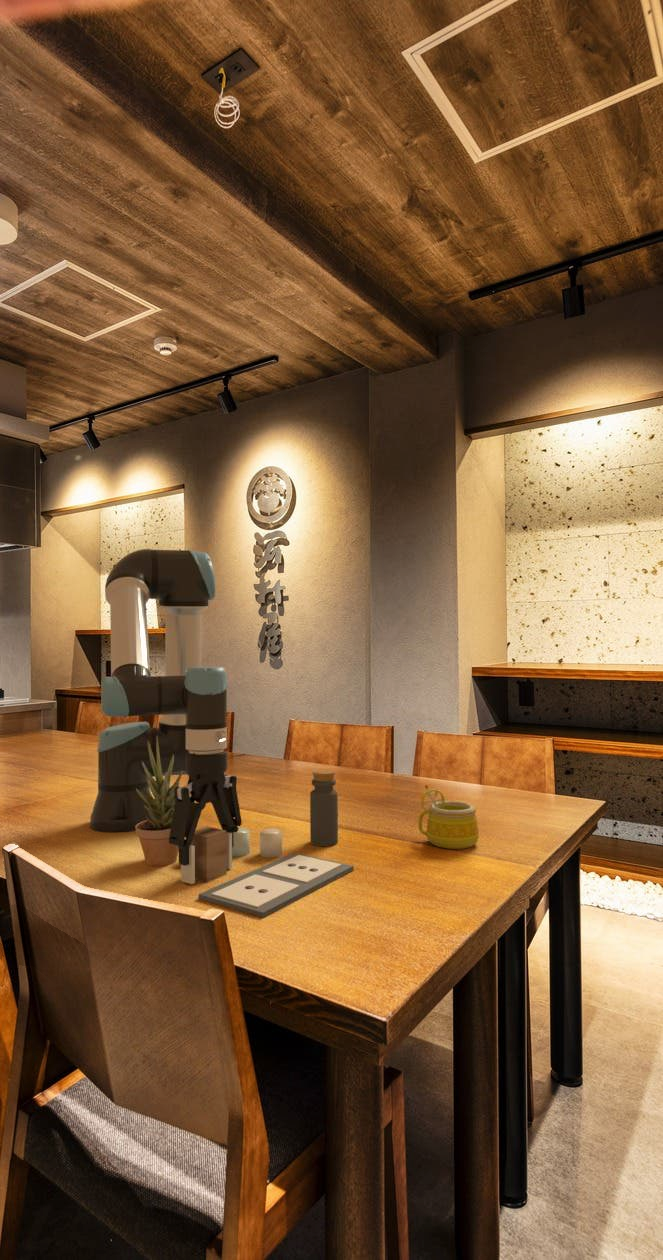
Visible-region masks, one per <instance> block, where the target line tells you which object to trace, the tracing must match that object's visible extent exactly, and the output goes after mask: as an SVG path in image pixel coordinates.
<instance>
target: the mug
mask: <svg viewBox="0 0 663 1260" xmlns="http://www.w3.org/2000/svg"><path fill="white" fill-rule="evenodd" d="M424 788H425V789H426V790H427V791H425V792H424V793H423V795H422V797H421V800H420V804H421V807H422V809H423V811H422V812H421V813H420V814H419V817H418V821H417V822H418V823H417V824H418V830H419V832H420V833H421V834H422V835H424V836H426V837H427V840H428V842H430V843H431V844H432V845H433V846H436V847H439V848H443V849H448V850H449V849H450V850H459V849H460V850H463V849H467V848H471V847H473V846H475V845H476V844H477V843H478V840H479V837H480V835H479V825H478V824H479V823H478V818H477V815H476V811H477V809H476V808H475V806H474V805H473V804H471V803H468V802H465V801H457V800H445V796H444V794H443V793H442V791H440V790H438V789H435V788H433V789H429V785H428V784H425V785H424ZM431 792H434V796H433V795H432V793H431ZM439 794H440V796H441V798H440V799H436V798H437V796H438V795H439ZM426 796H427V797H429V799H430V801H424V799H425V797H426ZM435 799H436V800H435ZM425 804H430V805H429V807H428V808H427V809H426V808H425ZM427 814H428V817H427V825H426V830H424V828H423V819H424V816H425V815H427Z"/></svg>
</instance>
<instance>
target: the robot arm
mask: <svg viewBox="0 0 663 1260" xmlns="http://www.w3.org/2000/svg"><path fill="white" fill-rule="evenodd" d="M215 579H216V578H215V573H214V567H213V563H212V560H211V557H210V556H209V554H208V553H206V552H204V551H199V550H197V551H196V550H191V549H188V550H181V549H180V550H178V549H149V548H145V549H143V548H142V549H138V550H134V551H132V552H131V553H127V555H125V556H124V557H122V558H120V560H119V561H117V563H115V565H114V566H113V567H112V569H111V570H110V571H109V574H108V576H107V577H106V581H105V584H104V585H105V587H104V588H105V589H104V592H105V593H104V595H105V596H104V597H105V600H106V602H107V603H108V604H109V606H110V607H109V608H110V609H109V611H110V612H109V614H110V615H109V616H110V617H109V618H110V619H109V620H110V669H111V670H110V672H111V673H110V676H109V677H104V678H102V679H101V681H100V682H101V683H100V684H101V685H100V687H101V690H100V692H101V694H100V695H101V697H100V699H101V700H100V701H101V703H100V704H101V705H100V707H101V710H100V711H101V714H102V715H104V716H105V717H114V718H115V717H116V718H117V717H118V718H119V717H123V718H128V717H138V716H155V715H156V716H160V717H159V719H158V727H151V725H150V723H149V722H148V721H139V722H138V721H136V722H128V723H122V724H117V725H113V726H110V727H106V728H104V729H102V730H101V731H100V732H99V734H98V742H97V743H98V744H97V749H96V752H97V753H98V756H97V757H98V763H97V764H98V765H97V766H98V769H97V789H98V790H97V795H96V798H95V801H94V805H93V808H92V812H91V813H90V818H89V820H90V821H89V822H90V823H89V825H90V828H92V829H93V830H95V831H101V832H110V833H111V832H113V833H114V832H127V831H128V832H129V831H136V828H135V826H136V825H137V824H138V823H141V822H143V821H147V820H148V819H147V817H146V816H148V817H149V818H150V819H152V818H151V817H150V815H149V812H148V811H147V809H146V808H145V807H144V805H145V806H147V807H148V808H149V806H148V805H147V803H146V802H145V801H144V800H143V799H142V798H141V797H140V795H139V794H138V793H137V791H136V788H137V789H138V790H139V791H140V792H141V793H142V792H143V793H145V794H146V795H148V796H149V797H151V796H150V794H152V792H151V790H150V788H149V784H148V780H149V779H148V777H147V775H146V773H145V771H144V768H143V765H142V762H143V763H144V765H145V766H146V768H147V769H148V771H149V773H150V774H151V776H152V777H153V778H155V775H154V772H153V768H152V765H151V760H150V756H149V750H148V742H149V744H150V747H151V751H152V753H153V756H154V759H155V762H156V766H157V752H156V738H157V737H158V745H159V754H160V762H161V767H162V776H163V777H165V774H166V772H167V770H168V767H169V764H170V761H171V759H172V757H173V754H174V762H173V768H172V773H171V776H179V775H180V773H181V771H182V775H187V776H188V781H187V783H186V784H185V785H183V786H179V787H175V789H174V793H175V805H174V809H173V810H174V811H173V818H172V824H171V830H170V837H169V843H170V844H173V845H177V846H178V847H179V852H178V864H179V865H180V882H182V883H187V884H190V885H193V884H195V883H196V879H195V846H193V845H191V843H192V840H193V836H194V833H195V830H197V827H198V823H199V820H200V817H201V815H202V814H201V813H202V811H203V810H205V808H206V805H207V804H208V803H211V805H212V807H213V809H214V812H215V814H216V817H217V820H218V822H219V825H220V827H221V828H220V829H221V830H226V869H227V870H230V869H233V856H232V848H233V845H234V840H233V839H234V832H237V831H238V828H239V827H241V826H242V824H243V822H242V816H241V810H240V805H239V798H238V791H237V781H238V778H237V775H229V774H225V772H227V770H228V752H227V750H225V749H227V747H228V734H227V733H228V732H227V731H228V729H227V728H228V727H227V726H228V725H227V723H228V721H227V719H228V718H227V717H228V716H227V714H228V713H227V709H228V708H227V705H228V703H227V701H228V699H227V697H228V694H227V693H228V692H227V691H228V687H229V686H228V681H227V670H226V669H225V668H224V667H223V666H215V665H214V666H209V665H208V666H202V661H203V658H202V657H203V653H202V652H203V651H202V646H203V642H202V641H203V634H202V632H203V626H202V625H203V613H205V611H206V610H207V609H208V608H209V602H210V601H212V600H215V597H216V580H215ZM149 599H150V600H158V607H159V608H160V609H161V611H163V613H164V616H165V639H164V641H165V655H164V656H165V663H164V664H165V665H164V666H165V668H164V669H165V670H164V671H165V672H164V673H165V675H157V676H156V675H153V676H152V675H151V661H150V659H151V658H150V646H149V631H148V618H147V617H148V615H147V603H148V602H149ZM147 800H148V799H147ZM148 801H149V800H148ZM149 803H150V801H149ZM150 804H151V803H150Z"/></svg>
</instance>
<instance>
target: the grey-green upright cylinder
mask: <svg viewBox="0 0 663 1260" xmlns="http://www.w3.org/2000/svg"><path fill="white" fill-rule="evenodd" d="M250 836H251V835H250V829H249V828H246V827H238V831H237V832H234V839H233V840H234V845H233V848H232V857H234V858H235V857H237V858H238V857H240V858H241V857H245V856H248V855H250V852H251V851H250V850H251V849H250V848H251V847H250V838H251V837H250Z"/></svg>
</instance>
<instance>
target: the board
mask: <svg viewBox="0 0 663 1260" xmlns="http://www.w3.org/2000/svg"><path fill="white" fill-rule="evenodd" d="M353 871H354V865H353V864H346V863H343V862H338V861H334V860H330V859H329V860H328V859H324V858H319V857H315V856H309V855H305V854H300V853H296V852H293V853H290V854H288V855H286V856H284V857H282V858H279V859H277V860H274V861H273V862H270V863H268V864H264V865H263V866H260V867H259V868H256V869H253V870H251V871H249V872H246V873H244V874H242V875H239V876H238V877H235V878H233V879H231V880H228V881H225V882H224V883H221V884H219V885H216V886H214V887H211V888H210V889H207V890H205V891H203V892H200V893H199V894H198V900H201V901H204V902H208V903H212V904H215V905H219V906H222V907H224V908H229V909H232V910H235V911H239V912H242V913H246V914H249V915H252V916H255V917H260V918H266V917H268V916H269V915H272V914H273V913H275V912H277V911H279V910H281V909H282V908H285V907H286V906H288V905H290V904H293V903H294V902H296V901H297V900H300V899H302V898H303V897H306V896H308V895H309V894H311V893H313V892H314V891H317V890H319V889H320V888H322V887H324V886H326V885H328V884H330V883H332V882H334V881H336V880H337V879H340V878H341V877H343V876H345V875H347V874H349V873H351V872H353Z"/></svg>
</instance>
